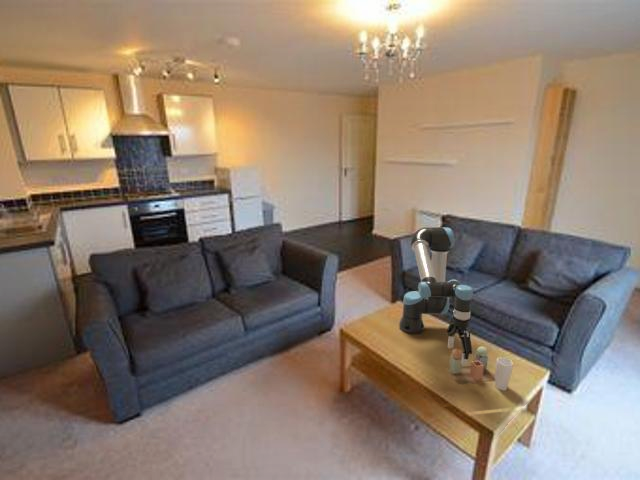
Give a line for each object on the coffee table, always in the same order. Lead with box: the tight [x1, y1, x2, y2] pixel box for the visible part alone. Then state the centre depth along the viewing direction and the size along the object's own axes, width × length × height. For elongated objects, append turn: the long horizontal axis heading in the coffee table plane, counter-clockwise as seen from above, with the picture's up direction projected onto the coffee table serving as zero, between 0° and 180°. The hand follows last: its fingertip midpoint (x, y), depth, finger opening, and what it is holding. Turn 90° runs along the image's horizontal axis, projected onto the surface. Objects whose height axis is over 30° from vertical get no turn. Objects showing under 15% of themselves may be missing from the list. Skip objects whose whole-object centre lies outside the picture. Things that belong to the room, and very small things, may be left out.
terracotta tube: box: [470, 360, 484, 381], centre depth 164 cm, size 4×4×8 cm
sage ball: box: [476, 346, 489, 357], centre depth 169 cm, size 5×5×5 cm
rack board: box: [445, 364, 495, 385], centre depth 168 cm, size 12×20×1 cm, turn 97°
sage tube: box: [449, 354, 463, 374], centre depth 169 cm, size 4×4×8 cm
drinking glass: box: [494, 356, 514, 391], centre depth 157 cm, size 7×7×15 cm
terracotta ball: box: [451, 348, 463, 359], centre depth 167 cm, size 5×5×5 cm
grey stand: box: [474, 352, 489, 371], centre depth 170 cm, size 4×4×8 cm
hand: (457, 355), depth 167 cm, fingers open, 13 cm apart
